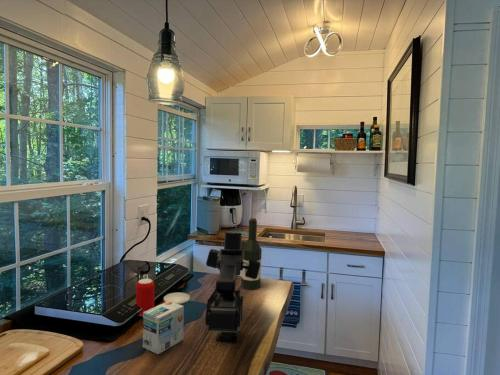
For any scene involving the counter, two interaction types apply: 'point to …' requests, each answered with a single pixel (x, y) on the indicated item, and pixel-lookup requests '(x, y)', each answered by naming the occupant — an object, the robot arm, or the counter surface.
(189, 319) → the counter surface
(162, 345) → the light bulb box
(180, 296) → the coaster
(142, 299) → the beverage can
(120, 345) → the counter surface
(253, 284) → the wine bottle
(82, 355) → the counter surface
